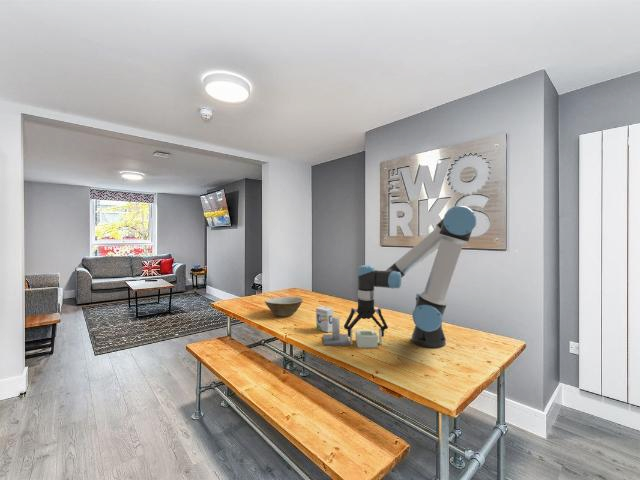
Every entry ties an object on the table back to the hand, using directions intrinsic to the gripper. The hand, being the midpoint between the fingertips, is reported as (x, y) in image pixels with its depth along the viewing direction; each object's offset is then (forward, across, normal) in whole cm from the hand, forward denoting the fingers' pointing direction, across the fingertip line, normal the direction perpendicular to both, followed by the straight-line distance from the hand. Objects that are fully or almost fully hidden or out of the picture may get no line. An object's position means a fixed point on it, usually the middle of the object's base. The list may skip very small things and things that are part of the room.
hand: (365, 343), depth 141 cm
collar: (0, 0, 0) cm, 0 cm away
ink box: (0, +19, -20) cm, 27 cm away
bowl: (+1, +44, -50) cm, 66 cm away
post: (0, +14, -4) cm, 14 cm away
